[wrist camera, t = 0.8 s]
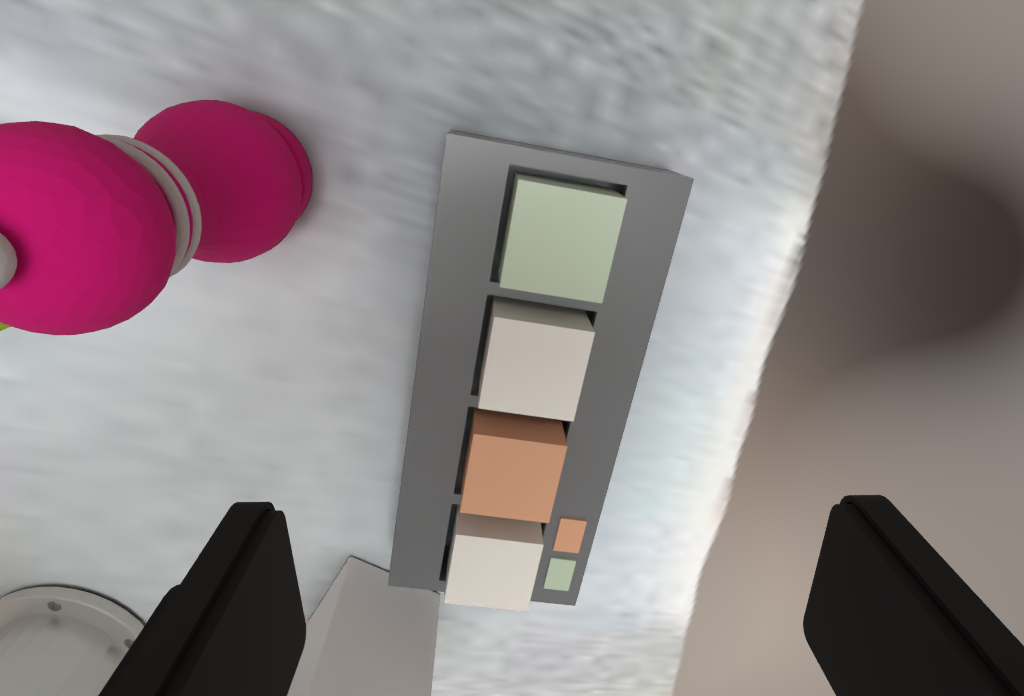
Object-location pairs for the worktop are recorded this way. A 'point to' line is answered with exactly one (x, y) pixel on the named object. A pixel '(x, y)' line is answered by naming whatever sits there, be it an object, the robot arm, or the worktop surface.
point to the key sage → (560, 237)
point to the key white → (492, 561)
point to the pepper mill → (137, 209)
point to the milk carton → (369, 638)
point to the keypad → (461, 338)
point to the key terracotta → (512, 465)
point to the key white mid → (534, 358)
